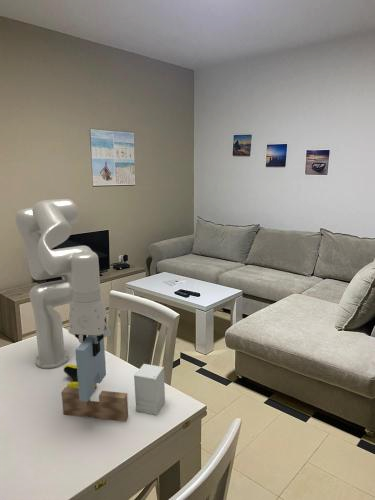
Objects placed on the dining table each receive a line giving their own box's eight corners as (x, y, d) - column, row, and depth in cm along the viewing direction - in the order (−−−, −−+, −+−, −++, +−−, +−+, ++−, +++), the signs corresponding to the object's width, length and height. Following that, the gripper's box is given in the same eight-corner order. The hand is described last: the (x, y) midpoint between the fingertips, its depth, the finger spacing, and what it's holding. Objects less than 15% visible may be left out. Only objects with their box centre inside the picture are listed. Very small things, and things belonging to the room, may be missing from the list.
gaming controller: (68, 401, 124) (99, 393, 128) (67, 386, 123) (98, 379, 127) (64, 377, 138) (92, 371, 142) (62, 363, 137) (91, 358, 140)
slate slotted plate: (98, 373, 122) (95, 327, 118) (106, 374, 121) (103, 328, 117) (79, 400, 108) (75, 349, 104) (87, 401, 108) (83, 350, 104)
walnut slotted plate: (63, 414, 118) (61, 391, 116) (67, 409, 120) (65, 387, 118) (125, 421, 114) (124, 398, 112) (128, 416, 117) (127, 393, 115)
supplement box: (165, 401, 124) (165, 366, 121) (156, 415, 117) (155, 379, 114) (145, 397, 126) (143, 362, 123) (134, 410, 119) (133, 374, 116)
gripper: (54, 298, 106) (59, 358, 110) (109, 301, 103) (112, 362, 107) (66, 289, 113) (71, 345, 117) (118, 292, 110) (121, 349, 115)
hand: (91, 353), depth 112 cm, fingers closed on slate slotted plate, 2 cm apart
